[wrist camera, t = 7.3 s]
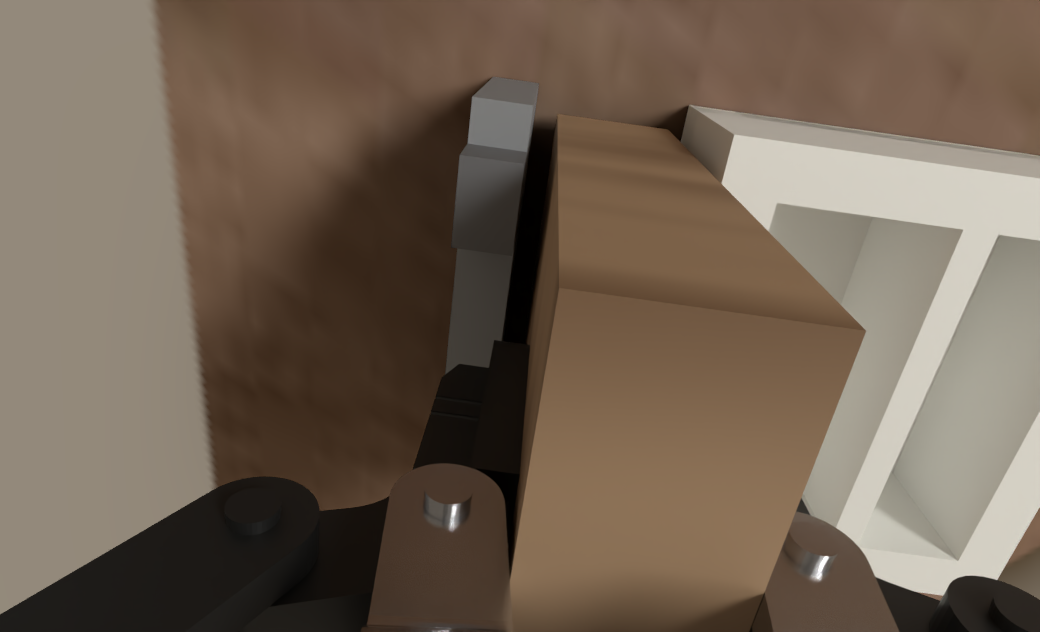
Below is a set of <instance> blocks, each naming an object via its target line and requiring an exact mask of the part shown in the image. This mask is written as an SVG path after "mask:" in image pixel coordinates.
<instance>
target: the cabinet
mask: <svg viewBox="0 0 1040 632" xmlns="http://www.w3.org/2000/svg"><path fill="white" fill-rule="evenodd" d="M538 87H539V83H533V82H527V81H520V80H513V79H506V78H499V77H493V78H491V79H490V80H489V81H488V82H487V83H486V84H485V85H484V86H483V87H482V88H481V89H480V90H479V91H478V92H477V93H476V94H475V95H473V96H472V104H471V114H470V124H469V134H468V144H467V145H466V147H465V148H464V149H463V151H462V152H461V154H460V157H459V168H458V178H457V189H456V200H455V211H454V221H453V232H452V243H451V248H457V258H456V268H455V278H454V289H453V299H452V309H451V319H450V330H449V340H448V350H447V360H446V371H445V374H447V373H448V372H449V371H451V370H452V369H453V368H454V367H456V366H457V365H458V364H465V365H472V366H479V367H486V368H489V364H490V359H491V354H492V348H493V343H494V340H499V341H504V336H505V328H506V321H507V314H508V306H509V299H510V292H511V284H512V277H513V270H514V262H515V255H516V248H517V240H518V233H519V226H520V219H521V211H522V204H523V197H524V189H525V182H526V175H527V167H528V160H529V153H530V145H531V138H532V131H533V123H534V116H535V109H536V101H537V94H538ZM681 143H682V144H683V145H684V146H685V147H686V148H687V149H688V150H689V151H690V152H691V153H692V154H693V155H694V156H695V157H696V159H697V160H698V161H699V162H700V163H701V164H702V165H703V166H704V167H705V168H706V169H707V170H708V171H709V172H710V173H711V174H712V175H713V176H714V177H715V178H716V179H717V180H718V181H719V182H720V183H721V184H722V185H723V186H724V187H725V188H726V189H727V190H728V191H729V192H730V193H731V194H732V195H733V196H734V197H735V198H736V199H737V200H738V201H739V202H740V203H741V204H742V205H743V206H744V207H745V208H746V209H747V210H748V211H749V212H750V213H751V214H752V215H753V216H754V217H755V218H756V219H757V220H758V221H759V222H760V223H761V224H762V225H763V227H764V228H765V229H766V230H767V231H768V232H769V233H770V234H771V235H772V236H773V237H774V238H775V239H776V240H777V241H778V242H779V243H780V244H781V245H782V246H783V247H784V248H785V249H786V250H787V251H788V252H789V253H790V254H791V255H792V256H793V257H794V258H795V259H796V260H797V261H798V262H799V263H800V264H801V265H802V266H803V267H804V268H805V269H806V270H807V271H808V272H809V273H810V274H811V275H812V276H813V277H814V278H815V279H816V280H817V281H818V282H819V283H820V284H821V285H822V286H823V287H824V288H825V289H826V290H827V291H828V292H829V294H830V295H831V296H832V297H833V298H834V299H835V300H836V301H837V302H838V303H839V304H840V305H841V306H842V307H843V308H844V309H845V310H846V311H847V312H848V313H849V314H850V315H851V316H852V317H853V318H854V319H855V320H856V321H857V322H858V323H859V324H860V325H861V326H862V327H863V328H864V329H865V330H866V333H865V336H864V338H863V341H862V343H861V346H860V349H859V351H858V354H857V356H856V359H855V361H854V364H853V366H852V369H851V372H850V374H849V377H848V379H847V382H846V384H845V387H844V390H843V392H842V395H841V397H840V400H839V402H838V405H837V408H836V410H835V413H834V415H833V418H832V420H831V423H830V425H829V428H828V431H827V433H826V436H825V438H824V441H823V443H822V446H821V449H820V451H819V454H818V456H817V459H816V461H815V464H814V467H813V469H812V472H811V474H810V477H809V479H808V482H807V484H806V487H805V490H804V492H803V495H802V497H801V498H802V500H803V502H804V504H805V505H806V507H807V509H808V511H809V513H810V515H811V516H813V517H816V518H818V519H821V520H823V521H825V522H827V523H829V524H830V525H832V526H834V527H836V528H837V529H839V530H840V531H841V532H843V533H844V534H846V535H847V536H848V537H849V538H850V539H851V540H853V541H854V542H855V543H856V545H857V546H858V547H859V548H860V549H861V550H862V552H863V553H864V554H865V556H866V558H867V560H868V562H869V564H870V566H871V568H872V571H873V573H874V575H875V577H877V578H879V579H882V580H884V581H887V582H889V583H892V584H895V585H898V586H900V587H903V588H906V589H909V590H911V591H915V592H922V593H929V594H936V595H944V593H945V592H946V590H947V588H948V586H949V584H950V583H951V582H952V581H953V580H955V579H957V578H959V577H963V576H982V577H987V578H992V579H995V580H997V579H998V577H999V576H1000V574H1001V572H1002V570H1003V569H1004V567H1005V565H1006V564H1007V562H1008V560H1009V558H1010V557H1011V555H1012V553H1013V552H1014V550H1015V548H1016V547H1017V545H1018V543H1019V541H1020V540H1021V538H1022V536H1023V535H1024V533H1025V531H1026V529H1027V528H1028V526H1029V524H1030V523H1031V521H1032V519H1033V517H1034V516H1035V514H1036V512H1037V511H1038V509H1039V507H1040V156H1039V155H1032V154H1025V153H1018V152H1011V151H1004V150H997V149H990V148H983V147H976V146H969V145H963V144H956V143H949V142H942V141H935V140H928V139H921V138H914V137H907V136H900V135H893V134H886V133H879V132H873V131H866V130H859V129H852V128H845V127H838V126H831V125H824V124H817V123H810V122H803V121H796V120H790V119H783V118H776V117H769V116H762V115H755V114H748V113H741V112H734V111H727V110H720V109H713V108H706V107H700V106H693V105H689V107H688V112H687V116H686V120H685V125H684V129H683V134H682V138H681Z"/></svg>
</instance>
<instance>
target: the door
mask: <svg viewBox="0 0 1040 632" xmlns="http://www.w3.org/2000/svg"><path fill="white" fill-rule="evenodd" d="M865 333H866V330H865V329H864V328H863V327H862V326H861V325H860V324H859V323H858V322H857V321H856V320H855V319H854V318H853V317H852V316H851V315H850V314H849V313H848V312H847V311H846V310H845V309H844V308H843V307H842V306H841V305H840V304H839V303H838V302H837V301H836V300H835V299H834V298H833V297H832V296H831V295H830V294H829V292H828V291H827V290H826V289H825V288H824V287H823V286H822V285H821V284H820V283H819V282H818V281H817V280H816V279H815V278H814V277H813V276H812V275H811V274H810V273H809V272H808V271H807V270H806V269H805V268H804V267H803V266H802V265H801V264H800V263H799V262H798V261H797V260H796V259H795V258H794V257H793V256H792V255H791V254H790V253H789V252H788V251H787V250H786V249H785V248H784V247H783V246H782V245H781V244H780V243H779V242H778V241H777V240H776V239H775V238H774V237H773V236H772V235H771V234H770V233H769V232H768V231H767V230H766V229H765V228H764V227H763V225H762V224H761V223H760V222H759V221H758V220H757V219H756V218H755V217H754V216H753V215H752V214H751V213H750V212H749V211H748V210H747V209H746V208H745V207H744V206H743V205H742V204H741V203H740V202H739V201H738V200H737V199H736V198H735V197H734V196H733V195H732V194H731V193H730V192H729V191H728V190H727V189H726V188H725V187H724V186H723V185H722V184H721V183H720V182H719V181H718V180H717V179H716V178H715V177H714V176H713V175H712V174H711V173H710V172H709V171H708V170H707V169H706V168H705V167H704V166H703V165H702V164H701V163H700V162H699V161H698V160H697V159H696V157H695V156H694V155H693V154H692V153H691V152H690V151H689V150H688V149H687V148H686V147H685V146H684V145H683V144H682V143H681V142H680V141H679V140H678V139H677V138H676V137H675V136H674V135H673V134H672V133H671V132H670V131H669V130H668V129H661V128H654V127H647V126H640V125H633V124H626V123H619V122H612V121H605V120H598V119H591V118H584V117H577V116H570V115H563V114H557V120H556V127H555V134H554V141H553V147H552V154H551V161H550V167H549V174H548V181H547V188H546V194H545V201H544V208H543V214H542V221H541V228H540V235H539V241H538V248H537V255H536V262H535V268H534V275H533V282H532V288H531V295H530V302H529V309H528V315H527V322H526V329H525V336H524V342H523V344H527V345H530V353H529V365H528V378H527V390H526V403H525V416H524V428H523V441H522V453H521V466H520V476H519V483H518V489H517V495H516V501H515V507H514V514H513V520H512V526H511V532H510V539H509V545H508V559H509V575H510V591H511V607H512V622H513V631H514V632H749V631H750V628H751V626H752V623H753V620H754V618H755V615H756V613H757V610H758V608H759V605H760V602H761V600H762V597H763V595H764V592H765V590H766V587H767V584H768V582H769V579H770V577H771V574H772V572H773V569H774V567H775V564H776V561H777V559H778V556H779V554H780V551H781V549H782V546H783V543H784V541H785V538H786V536H787V533H788V531H789V528H790V526H791V523H792V520H793V518H794V515H795V513H796V510H797V508H798V505H799V502H800V500H801V497H802V495H803V492H804V490H805V487H806V484H807V482H808V479H809V477H810V474H811V472H812V469H813V467H814V464H815V461H816V459H817V456H818V454H819V451H820V449H821V446H822V443H823V441H824V438H825V436H826V433H827V431H828V428H829V425H830V423H831V420H832V418H833V415H834V413H835V410H836V408H837V405H838V402H839V400H840V397H841V395H842V392H843V390H844V387H845V384H846V382H847V379H848V377H849V374H850V372H851V369H852V366H853V364H854V361H855V359H856V356H857V354H858V351H859V349H860V346H861V343H862V341H863V338H864V336H865Z"/></svg>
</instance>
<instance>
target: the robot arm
mask: <svg viewBox="0 0 1040 632" xmlns="http://www.w3.org/2000/svg"><path fill="white" fill-rule="evenodd" d="M529 353H530V345H527V344H520V343H513V342H506V341H499V340H494V343H493V348H492V354H491V359H490V364H489V368H486V367H479V366H472V365H465V364H458V365H457V366H456V367H454V368H453V369H452V370H451V371H449V372H448V373H447V374H445V375H444V376H443V377H442V378H441V382H440V385H439V388H438V391H437V394H436V399H435V401H434V404H433V407H432V410H431V414H430V416H429V420H428V423H427V426H426V429H425V432H424V435H423V439H422V442H421V445H420V448H419V451H418V454H417V458H416V461H415V464H414V467H413V470H412V471H410V472H408V473H406V474H405V475H403V476H402V477H401V478H400V479H399V480H398V481H397V482H396V483H395V484H394V486H393V488H392V489H391V493H390V496H389V497H387V498H385V499H383V500H381V501H378V502H376V503H373V504H369V505H365V506H361V507H354V508H346V509H336V510H326V511H319V506H318V502H317V500H316V498H315V497H314V495H313V494H312V493H311V492H310V491H309V490H308V489H307V488H305V487H304V486H302V485H300V484H298V483H296V482H294V481H291V480H287V479H283V478H277V477H252V478H246V479H241V480H237V481H233V482H230V483H228V484H225V485H222V486H220V487H218V488H216V489H214V490H212V491H211V492H209V493H207V494H206V495H204V496H202V497H200V498H199V499H197V500H195V501H193V502H192V503H190V504H188V505H187V506H185V507H183V508H181V509H180V510H178V511H176V512H175V513H173V514H171V515H170V516H168V517H166V518H164V519H163V520H161V521H159V522H158V523H156V524H154V525H152V526H151V527H149V528H147V529H146V530H144V531H142V532H140V533H139V534H137V535H135V536H134V537H132V538H130V539H128V540H127V541H125V542H123V543H122V544H120V545H118V546H116V547H115V548H113V549H112V550H110V551H108V552H106V553H105V554H103V555H101V556H100V557H98V558H96V559H94V560H93V561H91V562H89V563H88V564H86V565H84V566H83V567H81V568H79V569H77V570H75V571H74V572H72V573H70V574H69V575H67V576H65V577H64V578H62V579H60V580H58V581H57V582H55V583H53V584H52V585H50V586H48V587H46V588H45V589H43V590H41V591H40V592H38V593H36V594H35V595H33V596H31V597H29V598H28V599H26V600H24V601H22V602H21V603H19V604H18V605H16V606H14V607H12V608H11V609H9V610H7V611H6V612H4V613H2V614H0V632H514V631H513V622H512V607H511V591H510V575H509V559H508V545H509V539H510V532H511V526H512V520H513V514H514V507H515V501H516V495H517V489H518V483H519V476H520V466H521V453H522V441H523V428H524V416H525V403H526V390H527V378H528V365H529ZM749 632H1040V600H1039V599H1037V598H1036V597H1034V596H1032V595H1030V594H1029V593H1027V592H1025V591H1023V590H1021V589H1019V588H1017V587H1014V586H1012V585H1010V584H1007V583H1005V582H1002V581H998V580H995V579H992V578H987V577H982V576H963V577H959V578H957V579H955V580H953V581H952V582H951V583H950V584H949V586H948V588H947V590H946V592H945V593H944V595H943V597H942V599H941V601H939V600H936V599H933V598H931V597H928V596H925V595H922V594H920V593H917V592H914V591H911V590H909V589H906V588H903V587H900V586H898V585H895V584H892V583H889V582H887V581H884V580H882V579H879V578H877V577H875V575H874V573H873V571H872V568H871V566H870V564H869V562H868V560H867V558H866V556H865V554H864V553H863V552H862V550H861V549H860V548H859V547H858V546H857V545H856V543H855V542H854V541H853V540H851V539H850V538H849V537H848V536H847V535H846V534H844V533H843V532H841V531H840V530H839V529H837V528H836V527H834V526H832V525H830V524H829V523H827V522H825V521H823V520H821V519H818V518H816V517H813V516H811V515H810V513H809V511H808V509H807V507H806V505H805V504H804V502H803V500H802V498H801V500H800V502H799V505H798V508H797V510H796V513H795V515H794V518H793V520H792V523H791V526H790V528H789V531H788V533H787V536H786V538H785V541H784V543H783V546H782V549H781V551H780V554H779V556H778V559H777V561H776V564H775V567H774V569H773V572H772V574H771V577H770V579H769V582H768V584H767V587H766V590H765V592H764V595H763V597H762V600H761V602H760V605H759V608H758V610H757V613H756V615H755V618H754V620H753V623H752V626H751V628H750V631H749Z"/></svg>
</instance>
